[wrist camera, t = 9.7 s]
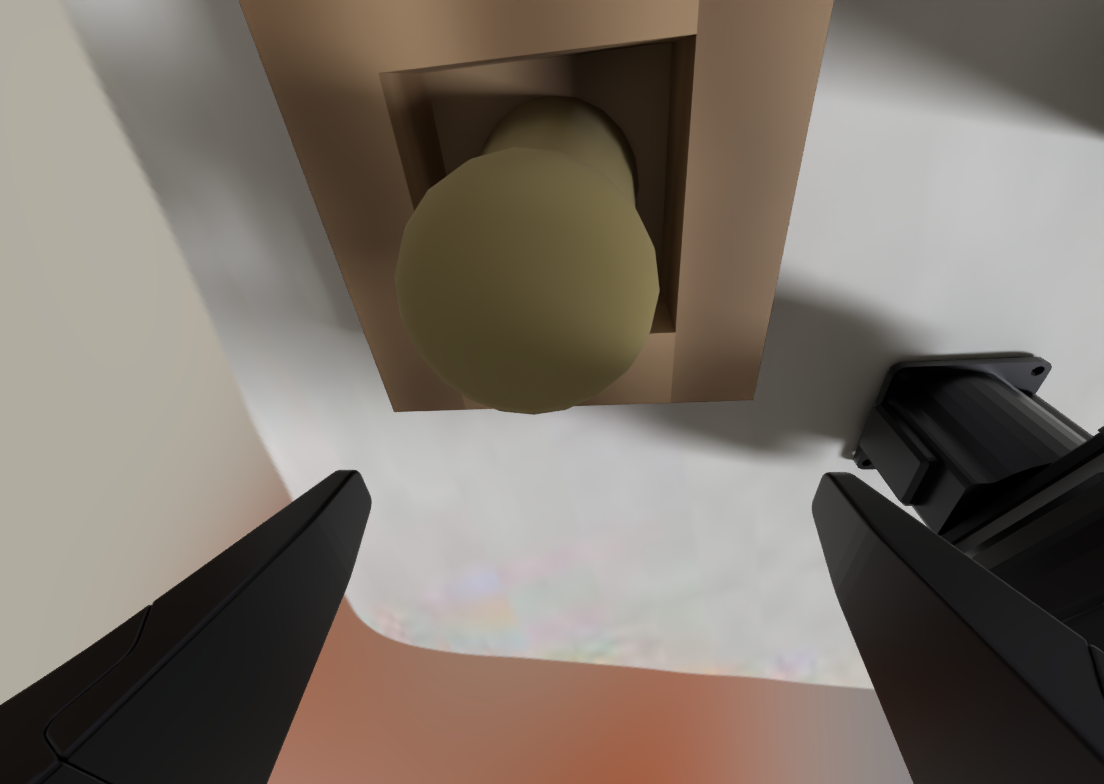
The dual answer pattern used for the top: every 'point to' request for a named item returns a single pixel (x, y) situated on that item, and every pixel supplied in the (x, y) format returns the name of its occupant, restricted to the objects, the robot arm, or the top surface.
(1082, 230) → the top surface
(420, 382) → the well block
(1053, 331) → the top surface
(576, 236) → the olive tall rounded piece
